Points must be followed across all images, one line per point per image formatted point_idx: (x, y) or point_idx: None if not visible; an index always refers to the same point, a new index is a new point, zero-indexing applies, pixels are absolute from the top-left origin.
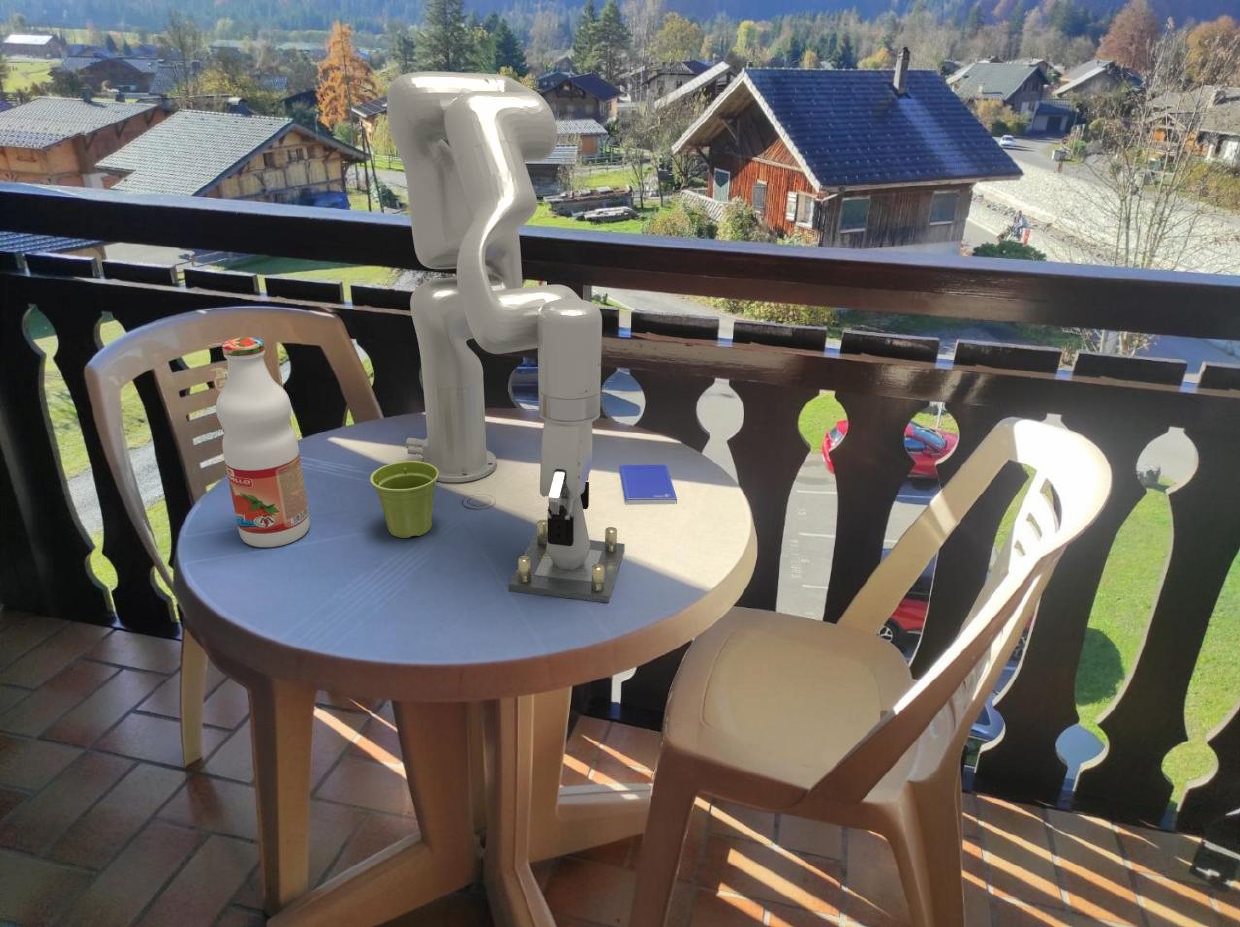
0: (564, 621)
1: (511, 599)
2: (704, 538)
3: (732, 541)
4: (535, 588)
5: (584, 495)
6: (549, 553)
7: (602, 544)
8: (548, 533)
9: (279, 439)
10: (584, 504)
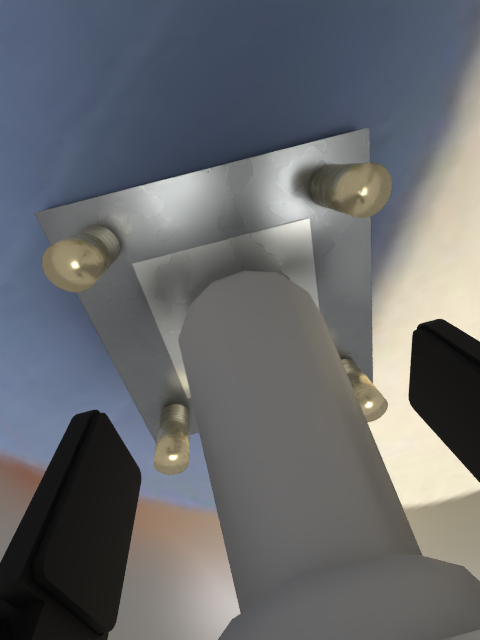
0: (40, 394)
1: (18, 240)
2: (435, 462)
3: (431, 492)
4: (80, 296)
5: (460, 449)
6: (190, 305)
7: (357, 347)
8: (54, 459)
9: None
10: (423, 413)
